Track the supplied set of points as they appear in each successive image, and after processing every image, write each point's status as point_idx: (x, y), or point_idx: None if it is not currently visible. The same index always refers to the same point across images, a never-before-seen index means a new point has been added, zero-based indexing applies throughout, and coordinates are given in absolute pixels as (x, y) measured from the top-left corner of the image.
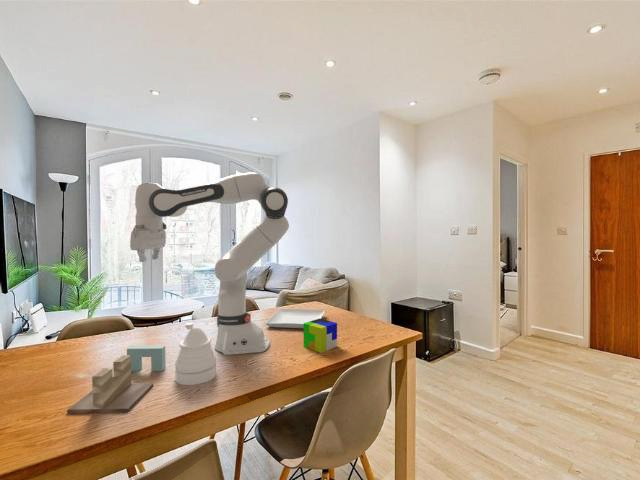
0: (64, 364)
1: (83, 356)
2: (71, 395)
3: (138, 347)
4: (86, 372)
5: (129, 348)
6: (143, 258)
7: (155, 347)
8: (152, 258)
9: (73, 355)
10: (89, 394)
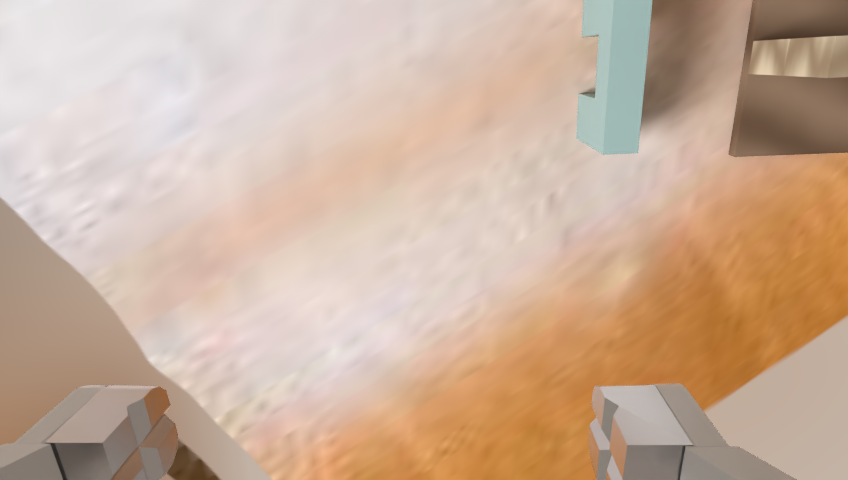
0: (524, 387)
1: (456, 373)
2: (771, 214)
3: (625, 105)
4: (597, 278)
5: (635, 142)
6: (709, 437)
7: (636, 13)
8: (170, 459)
9: (447, 409)
10: (811, 146)
